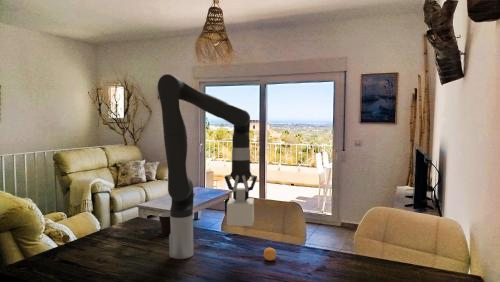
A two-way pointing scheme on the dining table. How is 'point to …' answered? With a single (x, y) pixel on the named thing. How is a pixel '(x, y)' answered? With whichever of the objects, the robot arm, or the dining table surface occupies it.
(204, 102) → the robot arm
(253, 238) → the dining table surface
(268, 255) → the ball
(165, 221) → the coffee mug
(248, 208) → the cream open-backed crate
